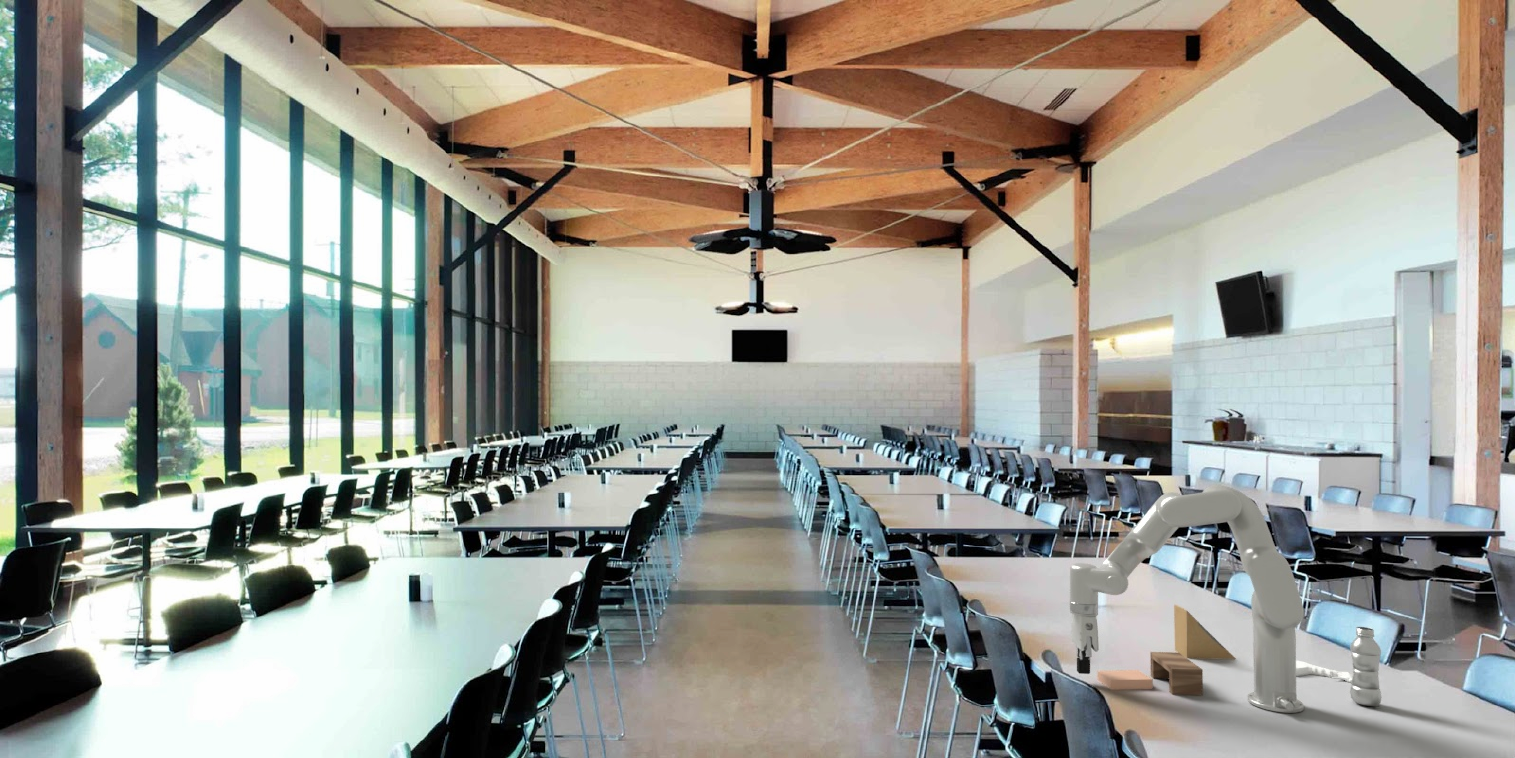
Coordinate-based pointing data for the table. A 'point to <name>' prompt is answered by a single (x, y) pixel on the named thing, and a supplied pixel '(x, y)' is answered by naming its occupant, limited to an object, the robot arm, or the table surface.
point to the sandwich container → (1195, 638)
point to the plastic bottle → (1365, 668)
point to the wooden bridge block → (1177, 673)
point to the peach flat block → (1125, 679)
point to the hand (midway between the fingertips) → (1083, 672)
